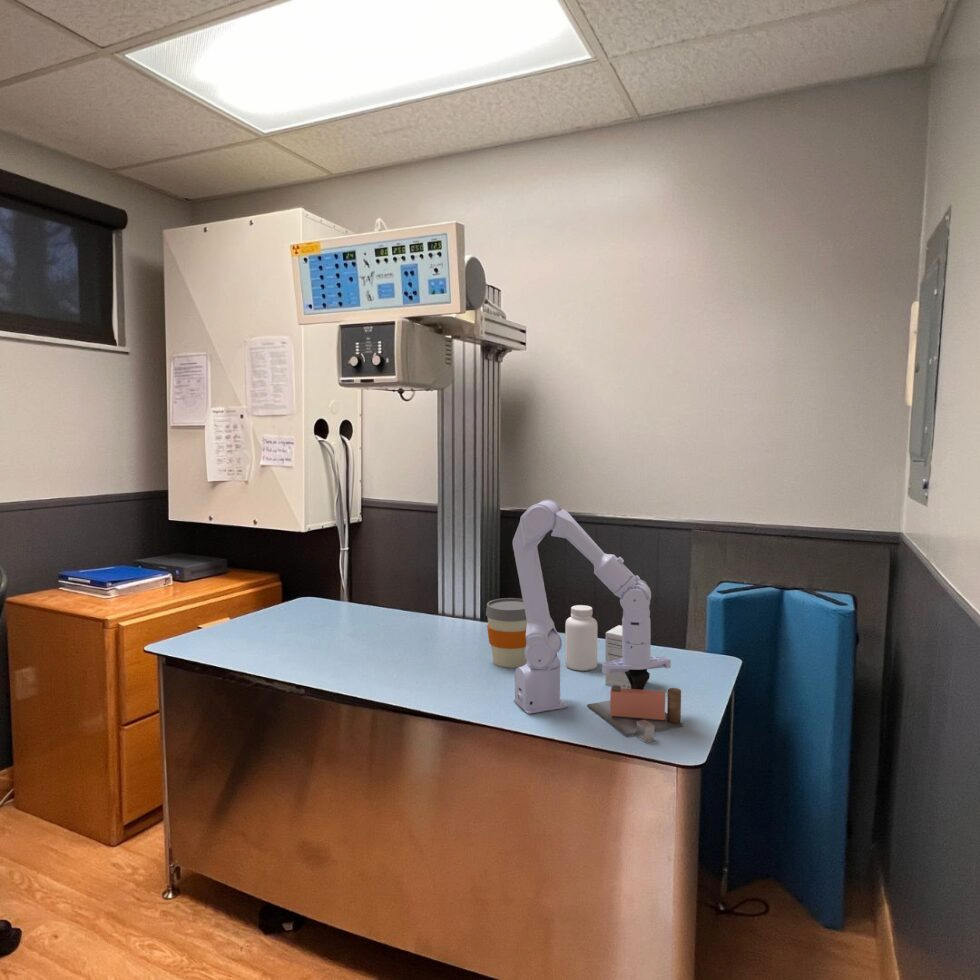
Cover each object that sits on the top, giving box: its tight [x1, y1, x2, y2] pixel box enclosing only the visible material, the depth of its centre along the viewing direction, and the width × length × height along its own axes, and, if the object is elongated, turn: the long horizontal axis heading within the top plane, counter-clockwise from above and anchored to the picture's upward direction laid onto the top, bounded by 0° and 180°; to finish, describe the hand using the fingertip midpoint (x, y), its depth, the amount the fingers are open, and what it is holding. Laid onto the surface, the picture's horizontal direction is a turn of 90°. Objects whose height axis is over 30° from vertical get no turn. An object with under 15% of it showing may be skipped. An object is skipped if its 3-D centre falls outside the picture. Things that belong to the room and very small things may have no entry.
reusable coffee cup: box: [485, 597, 527, 668], centre depth 177 cm, size 13×13×15 cm
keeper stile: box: [636, 720, 655, 744], centre depth 133 cm, size 2×3×3 cm, turn 21°
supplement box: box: [604, 624, 631, 689], centre depth 161 cm, size 7×7×13 cm
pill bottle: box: [564, 604, 598, 672], centre depth 173 cm, size 8×8×15 cm
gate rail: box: [609, 685, 666, 720], centre depth 140 cm, size 2×11×6 cm, turn 78°
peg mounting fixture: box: [586, 687, 684, 738], centre depth 143 cm, size 13×16×7 cm
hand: (636, 703), depth 144 cm, fingers closed
